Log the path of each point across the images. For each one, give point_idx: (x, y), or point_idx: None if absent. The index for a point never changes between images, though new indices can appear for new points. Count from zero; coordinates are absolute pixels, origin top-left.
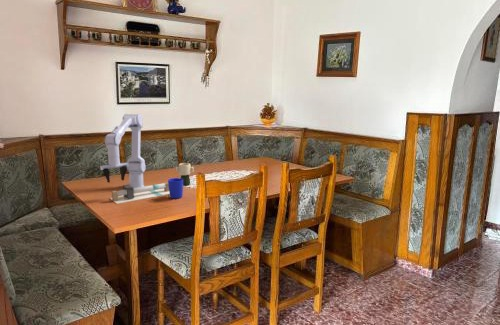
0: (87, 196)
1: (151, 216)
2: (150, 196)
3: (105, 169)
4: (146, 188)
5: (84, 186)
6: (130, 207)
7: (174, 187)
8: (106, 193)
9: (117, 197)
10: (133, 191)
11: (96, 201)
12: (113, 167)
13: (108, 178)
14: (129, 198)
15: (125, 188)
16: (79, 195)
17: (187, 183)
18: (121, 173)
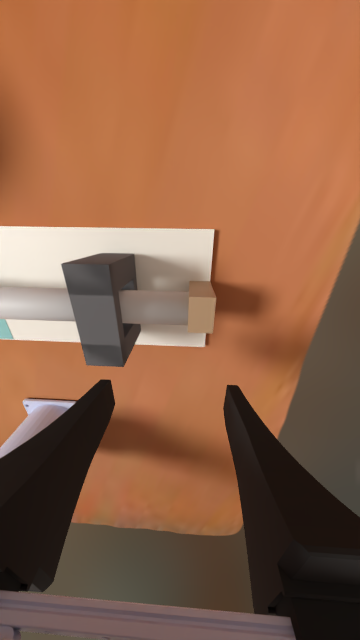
0: (260, 417)
1: None
2: (6, 239)
3: (347, 617)
4: None
5: (213, 497)
6: (172, 59)
7: None
8: (186, 412)
9: (189, 285)
10: (80, 259)
11: (270, 340)
12: (164, 635)
13: (250, 416)
14: (127, 254)
15: (120, 316)
16: None
17: None
18: (83, 462)
